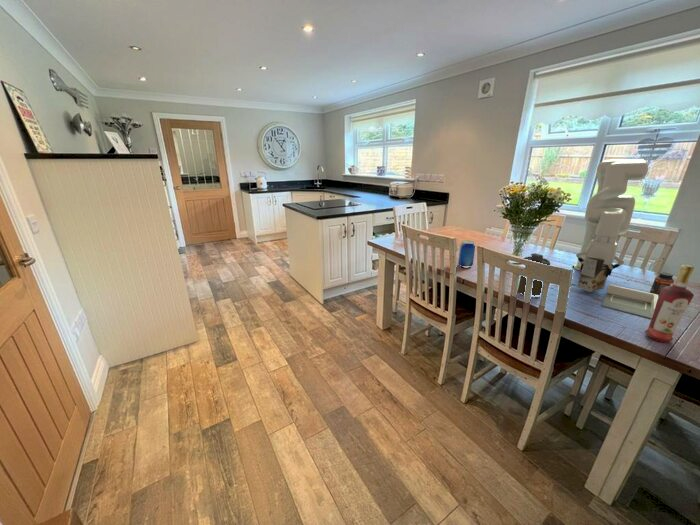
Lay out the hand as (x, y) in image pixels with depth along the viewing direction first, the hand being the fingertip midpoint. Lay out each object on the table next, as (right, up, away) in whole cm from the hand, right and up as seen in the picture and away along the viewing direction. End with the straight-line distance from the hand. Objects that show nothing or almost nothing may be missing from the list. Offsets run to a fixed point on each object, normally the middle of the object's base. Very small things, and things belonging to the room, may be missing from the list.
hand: (594, 273), depth 131 cm
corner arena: (+7, -14, -9) cm, 18 cm away
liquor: (-5, -22, -31) cm, 39 cm away
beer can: (-45, +3, +40) cm, 60 cm away
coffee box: (0, -7, +3) cm, 8 cm away
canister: (-28, -10, +4) cm, 30 cm away
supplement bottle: (+27, -11, -3) cm, 29 cm away
